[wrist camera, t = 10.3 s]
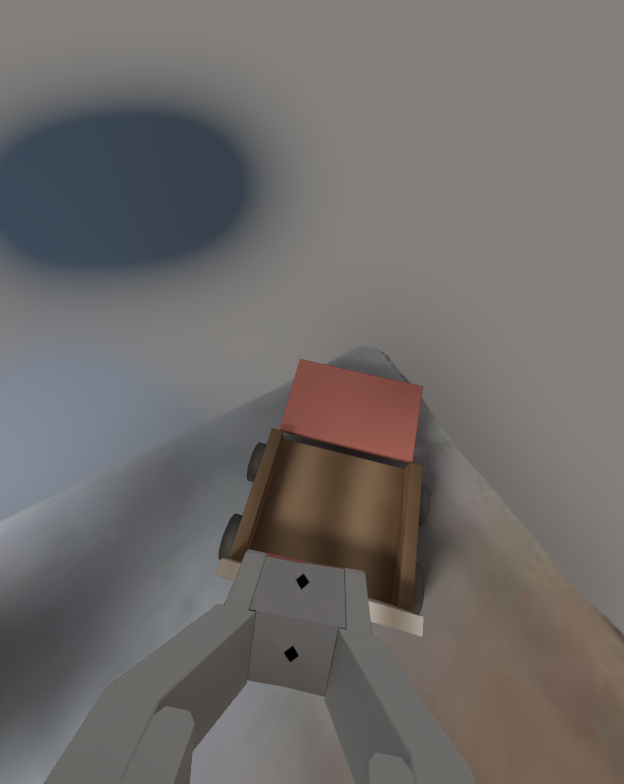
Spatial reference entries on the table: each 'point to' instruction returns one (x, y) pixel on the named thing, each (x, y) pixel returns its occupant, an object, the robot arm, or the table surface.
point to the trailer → (336, 521)
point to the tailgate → (353, 410)
